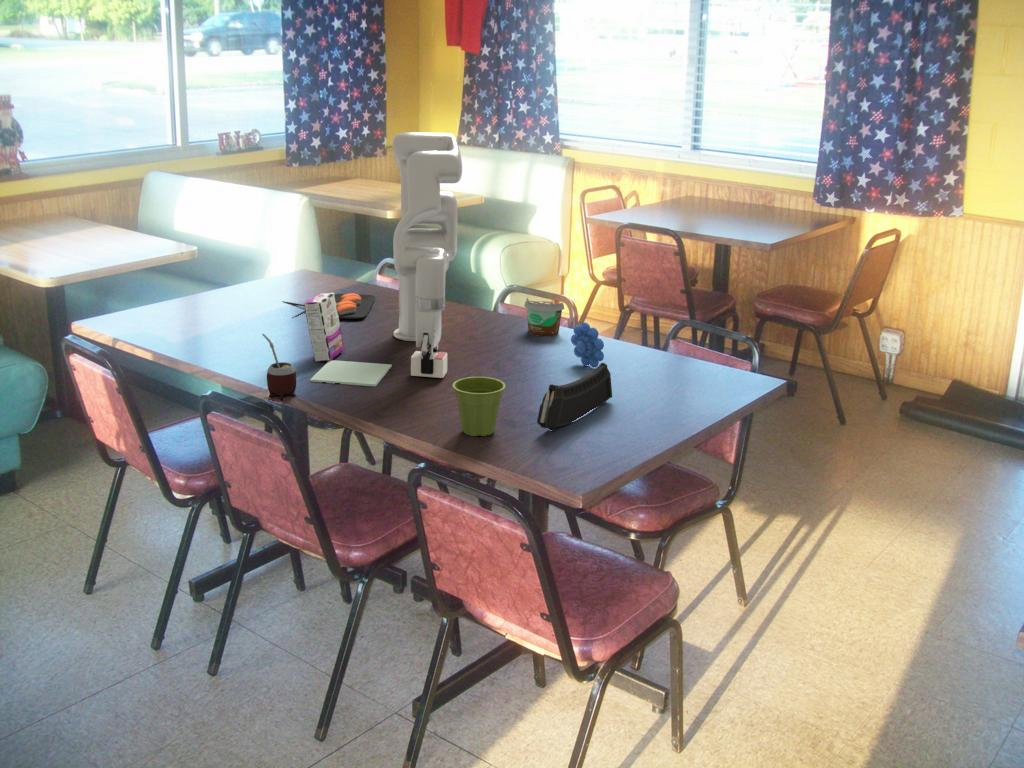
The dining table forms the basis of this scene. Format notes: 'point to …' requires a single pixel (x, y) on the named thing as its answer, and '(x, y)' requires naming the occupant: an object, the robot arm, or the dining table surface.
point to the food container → (543, 317)
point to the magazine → (575, 398)
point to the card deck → (438, 364)
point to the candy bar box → (324, 327)
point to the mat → (351, 373)
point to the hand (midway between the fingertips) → (429, 369)
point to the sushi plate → (350, 305)
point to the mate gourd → (280, 378)
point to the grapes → (587, 344)
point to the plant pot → (478, 404)
